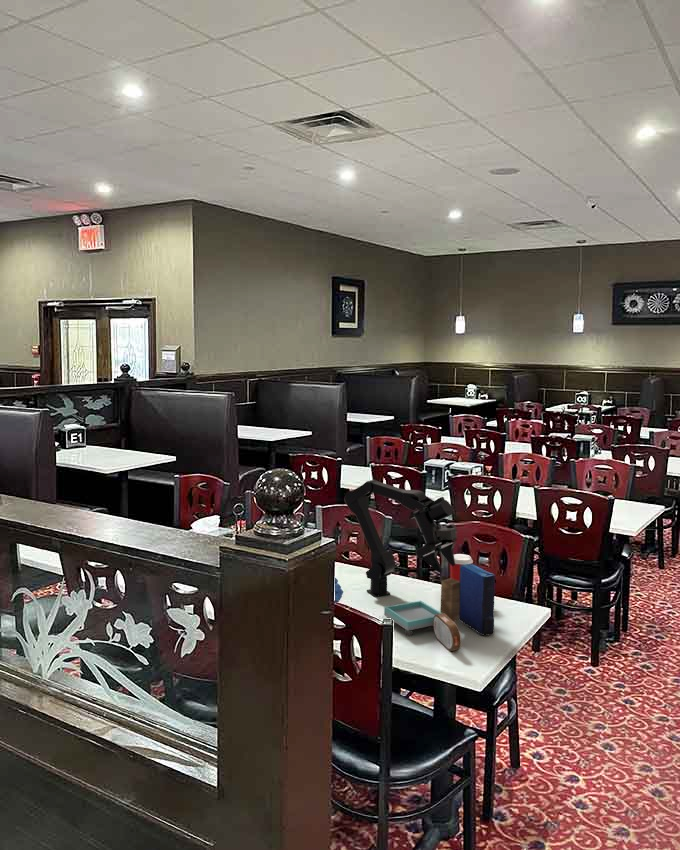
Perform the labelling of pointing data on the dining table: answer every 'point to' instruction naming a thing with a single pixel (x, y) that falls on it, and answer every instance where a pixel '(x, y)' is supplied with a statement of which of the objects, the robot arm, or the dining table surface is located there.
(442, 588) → the walnut block
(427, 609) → the teal shallow tray
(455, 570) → the coffee cup
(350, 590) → the dining table surface
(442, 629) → the tin
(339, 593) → the grapes
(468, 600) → the book
